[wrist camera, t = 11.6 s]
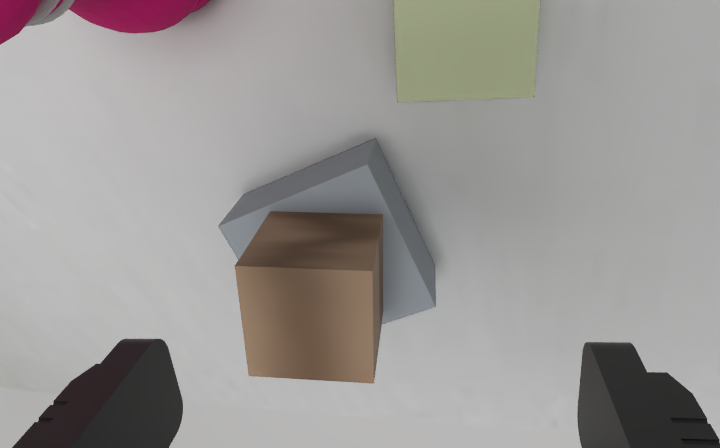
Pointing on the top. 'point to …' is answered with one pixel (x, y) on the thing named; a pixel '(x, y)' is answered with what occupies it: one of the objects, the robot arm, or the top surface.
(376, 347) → the walnut block
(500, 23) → the olive block
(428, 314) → the top surface
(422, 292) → the slate base block
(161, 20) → the pepper mill
